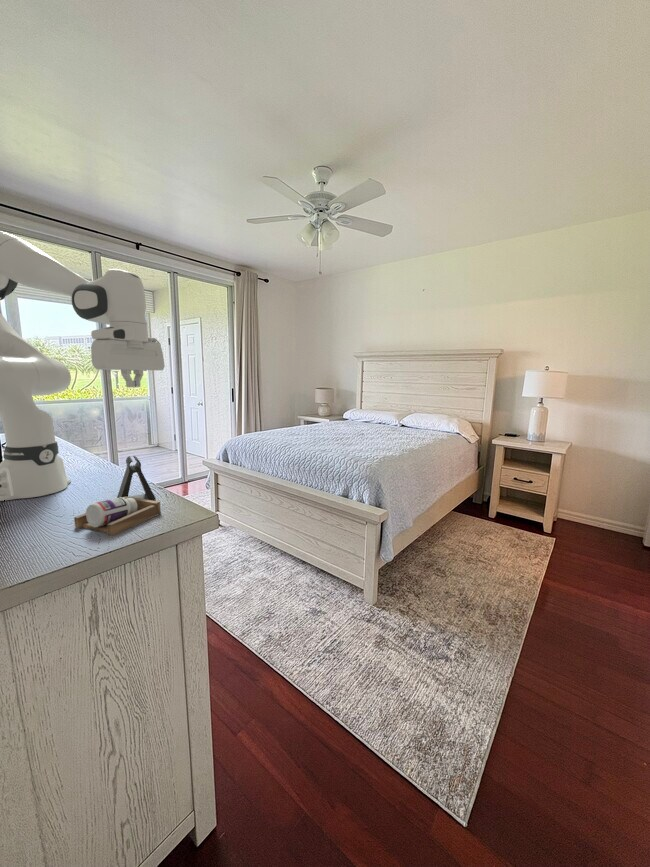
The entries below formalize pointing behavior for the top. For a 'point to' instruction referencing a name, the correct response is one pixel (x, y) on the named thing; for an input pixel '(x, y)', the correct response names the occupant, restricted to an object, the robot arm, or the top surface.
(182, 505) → the top surface
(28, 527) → the top surface
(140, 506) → the tray
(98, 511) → the pill bottle
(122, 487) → the phone stand
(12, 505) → the top surface
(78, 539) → the top surface
